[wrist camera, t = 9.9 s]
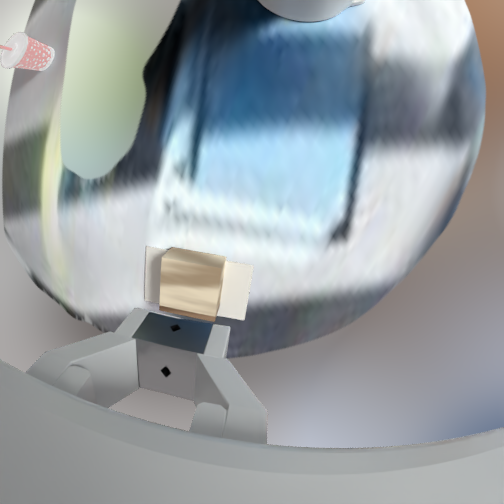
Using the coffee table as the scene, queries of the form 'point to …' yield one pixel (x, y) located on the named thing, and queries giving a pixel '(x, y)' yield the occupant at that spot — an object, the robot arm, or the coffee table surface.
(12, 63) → the beverage cup
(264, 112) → the coffee table surface
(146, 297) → the pad
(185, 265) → the block
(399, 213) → the coffee table surface
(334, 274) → the coffee table surface
